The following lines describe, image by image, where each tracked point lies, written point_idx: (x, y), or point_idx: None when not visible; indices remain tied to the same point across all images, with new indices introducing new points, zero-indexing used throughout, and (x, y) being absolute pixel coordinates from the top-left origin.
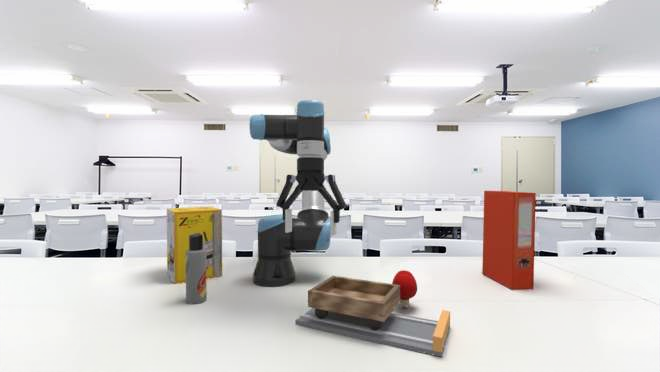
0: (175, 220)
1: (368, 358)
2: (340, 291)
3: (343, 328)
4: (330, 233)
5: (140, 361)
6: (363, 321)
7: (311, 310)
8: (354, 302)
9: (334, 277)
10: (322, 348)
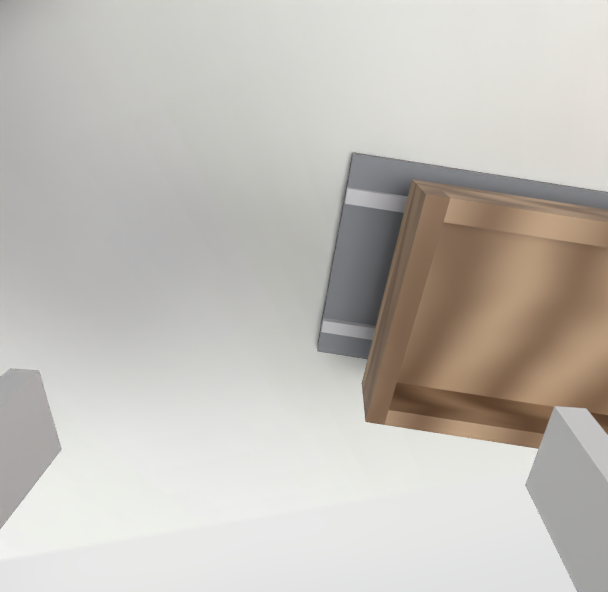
0: None
1: None
2: (466, 249)
3: None
4: (534, 501)
5: (110, 530)
6: None
7: (340, 271)
8: None
9: (441, 227)
10: (430, 434)
